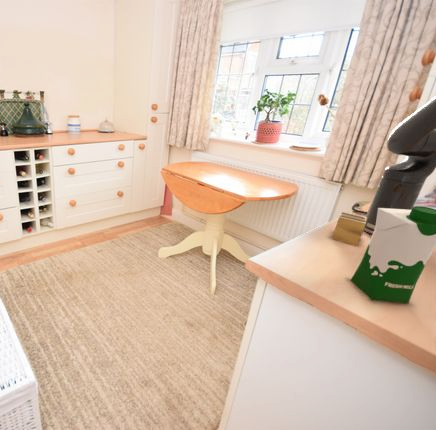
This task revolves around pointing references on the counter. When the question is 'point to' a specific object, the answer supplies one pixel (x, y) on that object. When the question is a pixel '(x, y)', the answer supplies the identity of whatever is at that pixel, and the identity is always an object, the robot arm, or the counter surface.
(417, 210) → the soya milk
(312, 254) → the counter surface
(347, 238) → the tan block
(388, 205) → the robot arm
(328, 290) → the counter surface
